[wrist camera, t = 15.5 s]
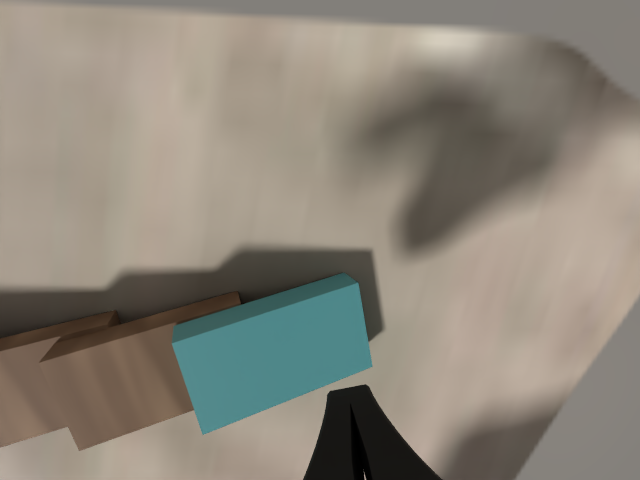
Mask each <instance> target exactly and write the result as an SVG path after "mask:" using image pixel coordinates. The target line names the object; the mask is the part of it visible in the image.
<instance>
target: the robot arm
mask: <svg viewBox="0 0 640 480" xmlns="http://www.w3.org/2000/svg"><path fill="white" fill-rule="evenodd" d="M363 469H364V470H363ZM364 473H365V476H366V480H442V479H441V478H440V477H439V476H438V475H437V474H436V473H435V472H434V471H433V470H432V469H431V468H430V467H429V466H428V465H427V464H426V463H425V462H424V461H423V460H422V459H421V458H420V457H419V456H418V455H417V454H416V453H415V452H414V450H413V449H412V448H411V447H410V446H409V445H408V443H407V442H406V441H405V440H404V439H403V438H402V436H401V435H400V434H399V433H398V431H397V430H396V429H395V427H394V426H393V425H392V423H391V422H390V421H389V419H388V418H387V417H386V415H385V414H384V412H383V411H382V409H381V408H380V406H379V405H378V403H377V401H376V400H375V398H374V396H373V394H372V392H371V390H370V387H369V386H367V385H366V384H365V385H360V386H355V387H349V388H344V389H339V390H334V391H330V392H329V393H328V395H327V403H326V409H325V414H324V418H323V423H322V426H321V430H320V433H319V437H318V440H317V444H316V447H315V449H314V452H313V455H312V458H311V461H310V463H309V466H308V469H307V471H306V474H305V476H304V479H303V480H364Z"/></svg>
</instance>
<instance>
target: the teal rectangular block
mask: <svg viewBox="0 0 640 480" xmlns="http://www.w3.org/2000/svg"><path fill="white" fill-rule="evenodd" d="M172 346H173V349H174V352H175V355H176V358H177V361H178V364H179V366H180V369H181V372H182V375H183V378H184V381H185V384H186V387H187V390H188V393H189V396H190V399H191V402H192V405H193V408H194V411H195V414H196V416H197V419H198V422H199V425H200V428H201V431H202V434H203V435H204V434H206V433H209V432H211V431H214V430H216V429H219V428H221V427H223V426H226V425H228V424H231V423H233V422H236V421H238V420H241V419H243V418H246V417H248V416H251V415H253V414H256V413H258V412H261V411H263V410H266V409H268V408H271V407H273V406H276V405H278V404H281V403H283V402H286V401H288V400H291V399H293V398H296V397H298V396H301V395H303V394H306V393H308V392H310V391H313V390H315V389H318V388H320V387H323V386H325V385H328V384H330V383H333V382H335V381H338V380H340V379H343V378H345V377H348V376H350V375H353V374H355V373H358V372H360V371H363V370H365V369H368V368H370V367H372V361H371V355H370V349H369V343H368V337H367V331H366V325H365V319H364V314H363V308H362V302H361V296H360V290H359V284H358V282H357V281H355V280H354V279H352V278H351V277H350V276H348V275H347V274H345V273H341V274H338V275H335V276H332V277H328V278H325V279H322V280H319V281H316V282H312V283H309V284H306V285H303V286H300V287H296V288H293V289H290V290H287V291H284V292H280V293H277V294H274V295H271V296H268V297H264V298H261V299H258V300H255V301H252V302H248V303H245V304H242V305H239V306H236V307H232V308H229V309H226V310H223V311H220V312H216V313H213V314H210V315H207V316H204V317H200V318H197V319H194V320H191V321H188V322H184V323H181V324H178V325H175V326H173V336H172Z"/></svg>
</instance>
